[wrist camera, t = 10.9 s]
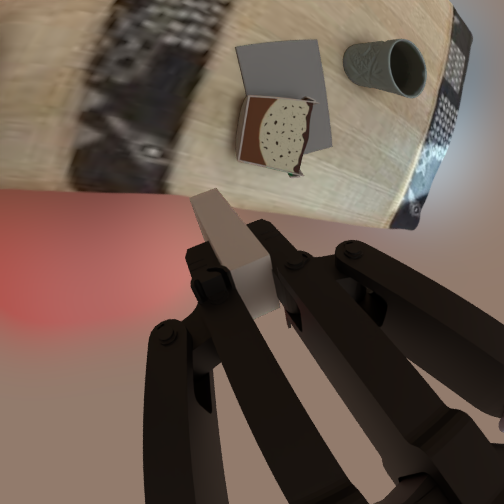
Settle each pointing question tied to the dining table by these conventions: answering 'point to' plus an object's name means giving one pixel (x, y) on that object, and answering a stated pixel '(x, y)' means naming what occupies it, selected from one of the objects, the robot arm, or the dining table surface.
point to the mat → (289, 80)
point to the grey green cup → (387, 66)
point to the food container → (274, 132)
